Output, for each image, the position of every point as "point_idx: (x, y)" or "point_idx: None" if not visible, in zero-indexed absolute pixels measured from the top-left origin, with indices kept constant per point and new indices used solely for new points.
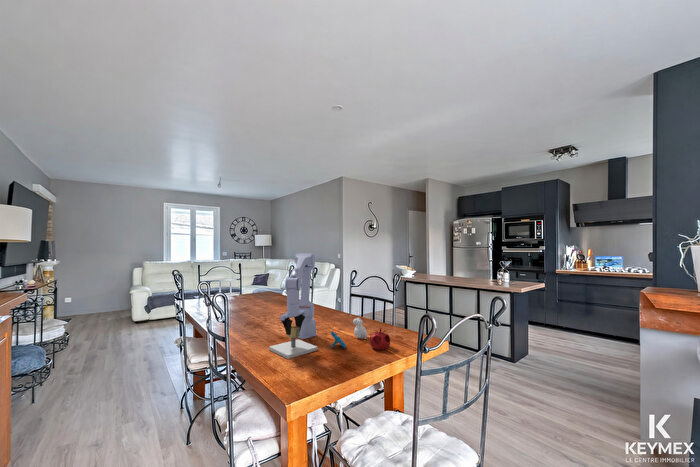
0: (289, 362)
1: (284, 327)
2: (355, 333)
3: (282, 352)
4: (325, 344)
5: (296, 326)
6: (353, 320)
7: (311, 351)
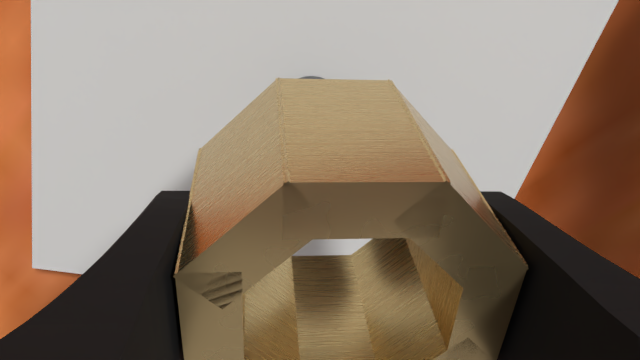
0: (5, 309)
1: (72, 285)
2: None
3: (42, 152)
4: (636, 251)
5: (455, 330)
6: None
7: None
